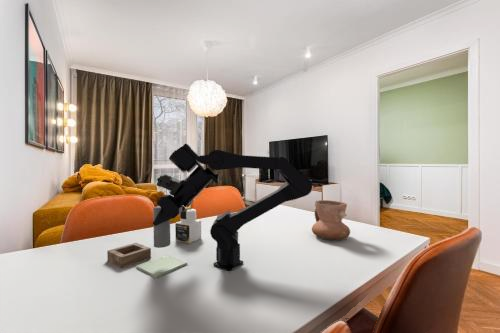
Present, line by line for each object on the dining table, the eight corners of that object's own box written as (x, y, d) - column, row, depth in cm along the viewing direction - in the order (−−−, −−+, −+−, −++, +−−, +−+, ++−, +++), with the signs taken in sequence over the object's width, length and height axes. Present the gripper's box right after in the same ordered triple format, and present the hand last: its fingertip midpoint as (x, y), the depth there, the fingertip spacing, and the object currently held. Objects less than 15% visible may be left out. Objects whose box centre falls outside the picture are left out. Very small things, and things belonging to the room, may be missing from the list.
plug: (173, 243, 68) (173, 206, 68) (161, 248, 64) (161, 209, 64) (162, 241, 70) (161, 205, 70) (150, 246, 66) (149, 208, 66)
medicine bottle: (175, 240, 90) (174, 209, 90) (188, 235, 96) (187, 206, 96) (189, 243, 86) (188, 211, 86) (201, 238, 93) (201, 208, 92)
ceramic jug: (361, 242, 87) (360, 204, 87) (327, 246, 82) (327, 206, 83) (331, 230, 104) (331, 198, 104) (302, 232, 100) (302, 199, 100)
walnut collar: (150, 257, 74) (150, 248, 74) (121, 267, 66) (121, 257, 66) (136, 251, 79) (136, 242, 79) (107, 260, 72) (107, 250, 72)
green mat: (187, 264, 68) (187, 262, 68) (156, 277, 60) (156, 275, 60) (167, 256, 74) (167, 254, 74) (136, 267, 66) (136, 265, 66)
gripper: (182, 164, 77) (149, 198, 76) (164, 164, 58) (119, 209, 58) (206, 187, 77) (173, 221, 77) (196, 195, 58) (152, 240, 58)
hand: (156, 222), depth 67 cm, fingers closed on plug, 4 cm apart
